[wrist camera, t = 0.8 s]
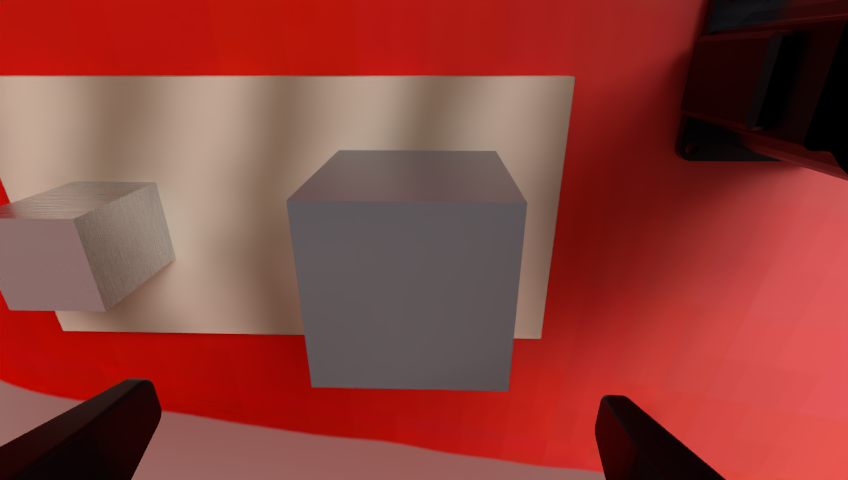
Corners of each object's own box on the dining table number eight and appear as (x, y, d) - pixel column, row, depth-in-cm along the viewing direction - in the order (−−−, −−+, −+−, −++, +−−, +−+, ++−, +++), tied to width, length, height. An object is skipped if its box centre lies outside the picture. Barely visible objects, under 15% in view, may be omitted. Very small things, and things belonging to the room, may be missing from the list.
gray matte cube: (495, 150, 17) (527, 202, 11) (486, 288, 20) (508, 391, 14) (339, 149, 17) (286, 200, 11) (349, 286, 20) (311, 387, 14)
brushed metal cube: (155, 182, 18) (72, 219, 14) (175, 257, 20) (106, 311, 15) (73, 181, 18) (-33, 218, 14) (99, 256, 20) (9, 310, 16)
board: (567, 75, 17) (575, 76, 16) (536, 326, 22) (540, 338, 21) (-17, 75, 18) (-42, 76, 17) (78, 319, 22) (63, 330, 21)
